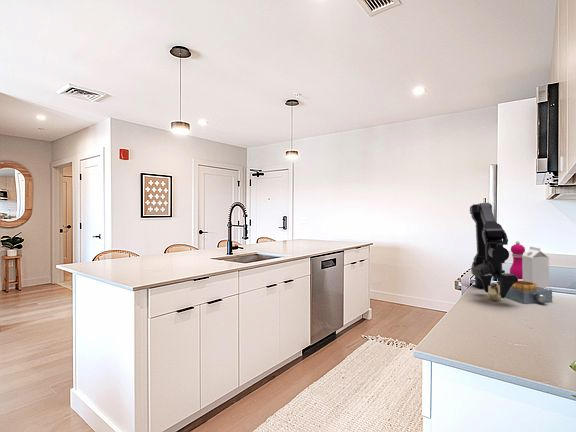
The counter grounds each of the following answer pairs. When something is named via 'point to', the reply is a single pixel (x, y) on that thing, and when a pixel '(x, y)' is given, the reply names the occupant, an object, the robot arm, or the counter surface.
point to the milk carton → (536, 267)
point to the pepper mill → (517, 260)
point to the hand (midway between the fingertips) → (494, 295)
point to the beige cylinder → (494, 292)
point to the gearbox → (529, 293)
